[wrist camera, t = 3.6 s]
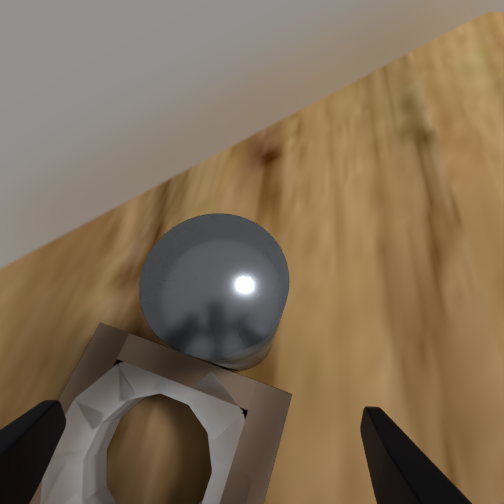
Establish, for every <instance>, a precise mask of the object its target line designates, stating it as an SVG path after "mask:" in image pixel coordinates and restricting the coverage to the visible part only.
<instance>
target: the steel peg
mask: <svg viewBox="0 0 504 504" xmlns="http://www.w3.org/2000/svg"><path fill="white" fill-rule="evenodd" d="M288 291H289V272H288V266H287V262H286V259H285V256H284V254H283V252H282V250H281V248H280V246H279V245H278V243H277V242H276V240H275V239H274V238H273V237H272V236H271V235H270V234H269V233H268V232H267V231H266V230H265V229H264V228H262V227H261V226H259V225H258V224H256V223H254V222H252V221H250V220H248V219H246V218H243V217H240V216H236V215H231V214H206V215H201V216H197V217H194V218H191V219H188V220H186V221H184V222H182V223H180V224H178V225H177V226H175V227H173V228H172V229H171V230H169V231H168V232H167V233H166V234H164V235H163V236H162V237H161V238H160V239H159V240H158V242H157V243H156V244H155V245H154V247H153V248H152V250H151V251H150V253H149V254H148V256H147V258H146V261H145V263H144V265H143V268H142V272H141V276H140V282H139V297H140V304H141V308H142V311H143V314H144V316H145V319H146V321H147V322H148V324H149V326H150V327H151V329H152V330H153V331H154V332H155V334H156V335H157V336H158V337H159V338H160V339H161V340H162V341H164V342H165V343H166V344H168V345H169V346H171V347H172V348H174V349H176V350H178V351H180V352H182V353H185V354H188V355H191V356H194V357H197V358H200V359H203V360H206V361H209V362H211V363H214V364H217V365H220V366H223V367H226V368H229V369H233V370H246V369H250V368H252V367H255V366H256V365H258V364H259V363H261V362H262V361H263V360H264V359H265V357H266V356H267V355H268V353H269V351H270V349H271V346H272V343H273V340H274V337H275V334H276V331H277V328H278V325H279V322H280V319H281V316H282V313H283V310H284V307H285V304H286V300H287V296H288Z"/></svg>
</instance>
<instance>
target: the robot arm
mask: <svg viewBox="0 0 504 504" xmlns="http://www.w3.org/2000/svg"><path fill="white" fill-rule="evenodd" d="M65 427H66V417H65V414H64V411H63V408H62V405H61V403H60V402H59V401H58V400H45V401H43V402H41V403H39V404H38V405H36V406H35V407H33V408H32V409H31V410H29V411H28V412H26V413H25V414H23V415H22V416H20V417H19V418H17V419H16V420H14V421H13V422H11V423H10V424H8V425H7V426H6V427H4V428H3V429H1V430H0V504H29V503H30V502H31V500H32V498H33V496H34V494H35V492H36V490H37V489H38V487H39V485H40V483H41V480H42V478H43V476H44V474H45V472H46V470H47V467H48V465H49V463H50V461H51V459H52V456H53V454H54V452H55V450H56V447H57V445H58V443H59V441H60V439H61V436H62V434H63V432H64V430H65ZM360 429H361V437H362V441H363V446H364V450H365V454H366V459H367V463H368V468H369V472H370V477H371V481H372V486H373V490H374V494H375V498H376V501H377V504H472V503H471V502H470V501H469V500H468V499H467V498H466V497H465V496H464V495H463V494H462V493H461V491H460V490H459V489H458V488H457V487H456V486H455V485H454V484H453V483H452V482H451V481H450V480H449V479H448V478H447V477H446V476H445V475H444V474H443V473H442V472H441V471H440V470H439V469H438V467H437V466H436V465H435V464H434V463H433V462H432V461H431V460H430V459H429V458H428V457H427V456H426V455H425V454H424V453H423V452H422V451H421V450H420V449H419V448H418V447H417V446H416V445H415V443H414V442H413V441H412V440H411V439H410V438H409V437H408V436H407V435H406V434H405V433H404V432H403V431H402V430H401V429H400V428H399V427H398V426H397V425H396V424H395V423H394V422H393V421H392V419H391V418H390V417H389V416H388V415H387V414H386V413H385V412H384V411H383V410H382V409H381V408H379V407H365V408H364V410H363V416H362V421H361V427H360Z"/></svg>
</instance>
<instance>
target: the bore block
mask: <svg viewBox="0 0 504 504" xmlns="http://www.w3.org/2000/svg"><path fill="white" fill-rule="evenodd" d="M158 394H163V395H165V396H168V397H170V398H173V399H175V400H178V401H180V402H183V403H185V404H188V405H189V406H190V408H191V409H192V411H193V412H194V414H195V415H196V417H197V418H198V420H199V421H200V422H201V424H202V425H203V427H204V428H205V430H206V431H207V433H208V441H209V449H210V458H211V467H212V474H211V477H210V480H209V483H208V486H207V489H206V492H205V495H204V499H203V500H202V501H201V502H200V503H199V504H264V501H265V497H266V493H267V489H268V485H269V481H270V477H271V474H272V470H273V466H274V462H275V458H276V454H277V451H278V447H279V443H280V439H281V435H282V431H283V428H284V424H285V420H286V416H287V412H288V408H289V404H290V401H291V397H292V394H290V393H288V392H285V391H283V390H280V389H277V388H275V387H272V386H269V385H267V384H264V383H261V382H259V381H256V380H253V379H251V378H248V377H245V376H243V375H240V374H237V373H235V372H232V371H229V370H227V369H224V368H221V367H219V366H216V365H213V364H211V363H208V362H205V361H203V360H200V359H197V358H195V357H192V356H189V355H187V354H184V353H181V352H179V351H176V350H173V349H171V348H168V347H165V346H163V345H160V344H157V343H155V342H152V341H149V340H147V339H144V338H141V337H139V336H136V335H133V334H131V333H128V332H125V331H123V330H120V329H117V328H114V327H112V326H109V325H106V324H103V323H100V324H99V326H98V327H97V329H96V331H95V333H94V335H93V337H92V339H91V340H90V342H89V344H88V346H87V348H86V350H85V352H84V353H83V355H82V357H81V359H80V361H79V363H78V364H77V366H76V368H75V370H74V372H73V374H72V376H71V377H70V379H69V381H68V383H67V385H66V387H65V389H64V390H63V392H62V394H61V396H60V398H59V400H58V401H59V402H60V403H61V405H62V408H63V411H64V414H65V417H66V427H65V430H64V432H63V434H62V436H61V439H60V441H59V443H58V445H57V447H56V450H55V452H54V454H53V456H52V459H51V461H50V463H49V465H48V467H47V470H46V472H45V474H44V476H43V478H42V480H41V483H40V485H39V487H38V489H37V490H36V492H35V494H34V496H33V498H32V500H31V502H30V503H29V504H116V502H115V500H114V498H113V496H112V494H111V492H110V490H109V489H108V487H107V448H108V446H109V444H110V441H111V439H112V437H113V435H114V433H115V430H116V428H117V426H118V424H119V422H120V419H121V418H122V417H123V416H124V415H125V414H126V413H127V412H129V411H130V410H131V409H132V408H133V407H134V406H135V405H137V404H138V403H139V402H140V401H141V400H142V399H144V398H145V397H149V396H153V395H158ZM244 409H246V410H248V412H247V414H246V410H244Z"/></svg>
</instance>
